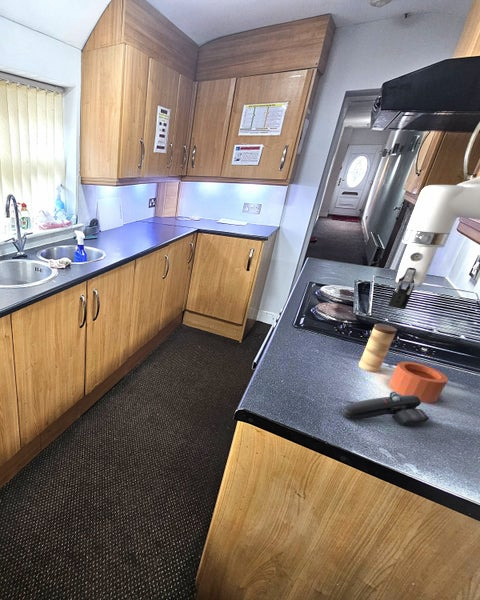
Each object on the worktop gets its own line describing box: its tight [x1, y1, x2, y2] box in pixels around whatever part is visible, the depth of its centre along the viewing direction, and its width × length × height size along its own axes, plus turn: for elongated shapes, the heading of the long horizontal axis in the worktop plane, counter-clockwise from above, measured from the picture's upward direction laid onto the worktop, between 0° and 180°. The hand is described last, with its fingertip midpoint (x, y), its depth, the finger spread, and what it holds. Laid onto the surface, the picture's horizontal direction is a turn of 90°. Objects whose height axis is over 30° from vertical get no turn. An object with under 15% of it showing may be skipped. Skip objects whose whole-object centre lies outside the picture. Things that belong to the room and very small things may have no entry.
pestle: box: [358, 323, 398, 373], centre depth 92 cm, size 5×5×14 cm
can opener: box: [341, 390, 430, 426], centre depth 75 cm, size 18×7×6 cm, turn 91°
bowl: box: [388, 361, 449, 404], centre depth 83 cm, size 9×9×7 cm
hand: (398, 302), depth 86 cm, fingers open, 9 cm apart
